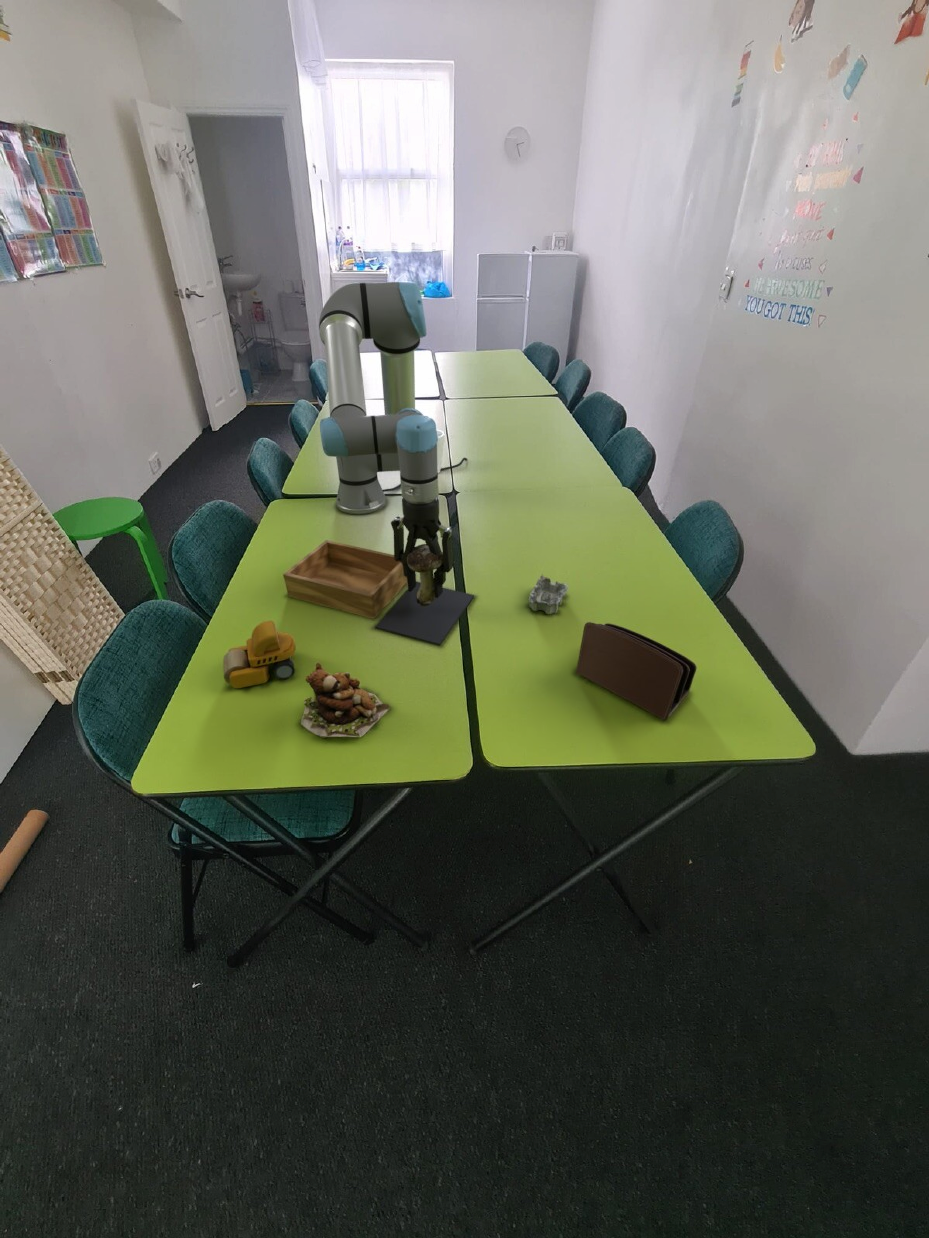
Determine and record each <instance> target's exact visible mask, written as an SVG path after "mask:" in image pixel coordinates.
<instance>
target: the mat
mask: <svg viewBox="0 0 929 1238" xmlns="http://www.w3.org/2000/svg"><path fill="white" fill-rule="evenodd" d="M420 584H421V582H419V581H416V587H415V588H414V589H413V590H412V591H411V592H410V591H408V589H407V590H406V591H405V592H404V593H403V594H402V595H401V597H400V598H399V599H398V600H397V601H396V602H395V603H394V604H393V606H392V607H391V608H390V609H389V610H388V611H387V612H386V614H385V615H383V617H382V618H381V619H380V620H379V621H378V622H377V623H376V624H375V626H374V629H377V630H379V631H383V632H385V633H386V632H387V633H390V634H394V635H398V636H402V637H405V638H409V639H412V640H416V641H420V642H423V643H428V644H431V645H434V646H439V647H440V646H441V645H442V643H443V642H444V641H445V639H446V638H447V637H448V635H449V633H450V632H451V631H452V629H453V628H454V626H455V625H456V624H457V623H458V621H459V620H460V618H461V616H462V615H463V614H464V613H465V611H466V609H467V608H468V607H469V605H470V604H471V602H472V601H473V600H474V598H475V595H474V594H470V593H467V592H462V591H459V590H455V589H449V588H446V587H443V592H442V594H441V595H440V596H439V597H438V598H435V599H434V600H433V601H432V602H431V603H429V605H427V606H421V605H420V604H417V603H418V602H417V601H416V600H417V598H416V597H417V592H418V589H419V588H420Z"/></svg>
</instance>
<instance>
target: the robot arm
mask: <svg viewBox="0 0 929 1238" xmlns="http://www.w3.org/2000/svg"><path fill="white" fill-rule="evenodd" d="M318 321H319V322H318V331H319V338H320V341H321V343H322V344H323V345H324V351H325V352H324V353H325V364H326V365H325V366H326V380H327V393H328V394H327V395H328V408H329V417H325V418H322V419H320V421H319V432H320V441H321V446H322V450H323V453H324V454H325V455H326V456H328V457H332V458H333V457H334V458H336V459H335V460H336V465H337V466H336V467H337V473H338V480H339V483H338V488H337V489H338V490H337V494H336V501H335V502H336V507H337V509H338V510H339V511H340V512H343V513H344V514H349V515H367V514H372V513H375V512H377V511H380V510H382V509H383V508H384V507H385V506H386V504H387V499H386V495H385V492H393V491H396V490H398V489H399V488H400V492H401V497H402V498H401V508H402V515H403V517H401V516H396V517H395V518H394V519H393V520H392V521H391V522H390V525H391V528H392V531H393V555H394V560H395V561H397V562H398V561H400V562H401V563H402V565H403V572H404V576H405V577H407V583H406V584H407V590H408V591H410V592H411V591H412V590H413V589H414V588H415V587H416V582H417V575H416V574H417V572H415V571H413V570H412V569H410V567H409V566H408V564H407V556H408V555H409V554H410V552H411V551H412V549H413V548H414V547H416V544H417V540H422V541H424V543H425V544H426V545H427V546H428V547H429V550H430V552H431V553H433V554H435V555H436V556H437V554H439V553H442V552H443V561H444V563H443V564H442V565H441V566H440V567H439V568H437V569H435V570H434V571H433V576H434V591H435V598H438V597H439V596H440V595H441V594H442V592H443V588H444V586H443V585H444V584H445V583H446V581H447V574H448V573H450V572H451V570H452V569H453V568H454V567H455V562H454V561H455V559H454V549H453V538H452V537H453V533H454V527H453V526H448V527H447V526H445V525H442V522H441V520H440V498H439V495H440V490H439V488H440V487H439V473H438V471H437V441H438V436H437V432H436V430H437V424H436V421H435V420H434V419H433V418H432V417H429V416H428V415H424V414H423V413H422V412H421V411H420V410H418V409H416V380H415V379H416V377H415V376H416V375H415V373H416V372H415V351H416V350H418V348H419V347H420V344H421V339H423V338H425V337H426V336H427V324H426V317H425V311H424V304H423V299H422V294H421V289H420V287H419V285H418V284H417V283H416V282H413V281H401V280H398V281H379V282H378V281H376V282H375V281H374V282H359V281H358V282H351V283H347V284H344V285H342V286H341V287H340V288H338V289H337V290H336V291H334V292H333V293H332V295H330V297H329V298H328V299H327V301H326V302H325V303H324V306H323V308H322V310H321V313H320V316H319V320H318ZM362 340H372V343H373V346H374V347H375V348H376V349H377V350H378V351H379V353H380V354H379V355H380V366H381V367H380V368H381V381H382V383H381V384H382V394H383V395H382V396H383V408H384V409H383V410H384V414H378V415H377V414H376V415H367V406H366V397H365V387H364V378H363V368H362V360H361V350H360V346H361V343H362ZM464 461H468V458H467V457H462V458H461V460H460V462H458V463H456V464H455V465H450V466H446V467H441V469H440V472H442V471H446V470H451V469H455V468H457V467H460V466H461V465H462V464H463V463H464ZM383 472H384V473H386V472H399V479H400V484H398V485H397V486H394V487H392V488H384V489H383V488H382V485H381V483H380V481H379V478H378V473H383ZM405 528H406V530H407V531H408V533H407V537H406V545H405ZM438 532H439V533H440V538H441V545H440V543H439V535H438Z"/></svg>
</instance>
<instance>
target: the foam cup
mask: <svg viewBox="0 0 929 1238" xmlns="http://www.w3.org/2000/svg"><path fill="white" fill-rule="evenodd" d="M436 432H437V436H438V441H437V471H438V474H439V473H441V471H440V469H441V468H442V465H443V455H444V444H445V431H443V430H440V429H436Z"/></svg>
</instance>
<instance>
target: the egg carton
mask: <svg viewBox="0 0 929 1238" xmlns="http://www.w3.org/2000/svg"><path fill="white" fill-rule="evenodd" d="M536 581H537V582H536V584H535V585H534V586H533V589H532V590H531V591H530V593H529V598H528V602H529V606H528V607H529V608H531V611H533V612H538V611H544V612H545V614H548V615H551V614H557V613H558V609H559V606H561V605H562V603H563V602H562V601H563V599H565V597H566V593H567V590H568V589H569V585H568V584H565V583H564V582H561V583H560V582H559V581H557V580H556V581H555V582H551V581H552V580H551V579H550V578H549V577H546V576H544V574H541V575H540V576H539V578H538V579H537V580H536Z"/></svg>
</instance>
